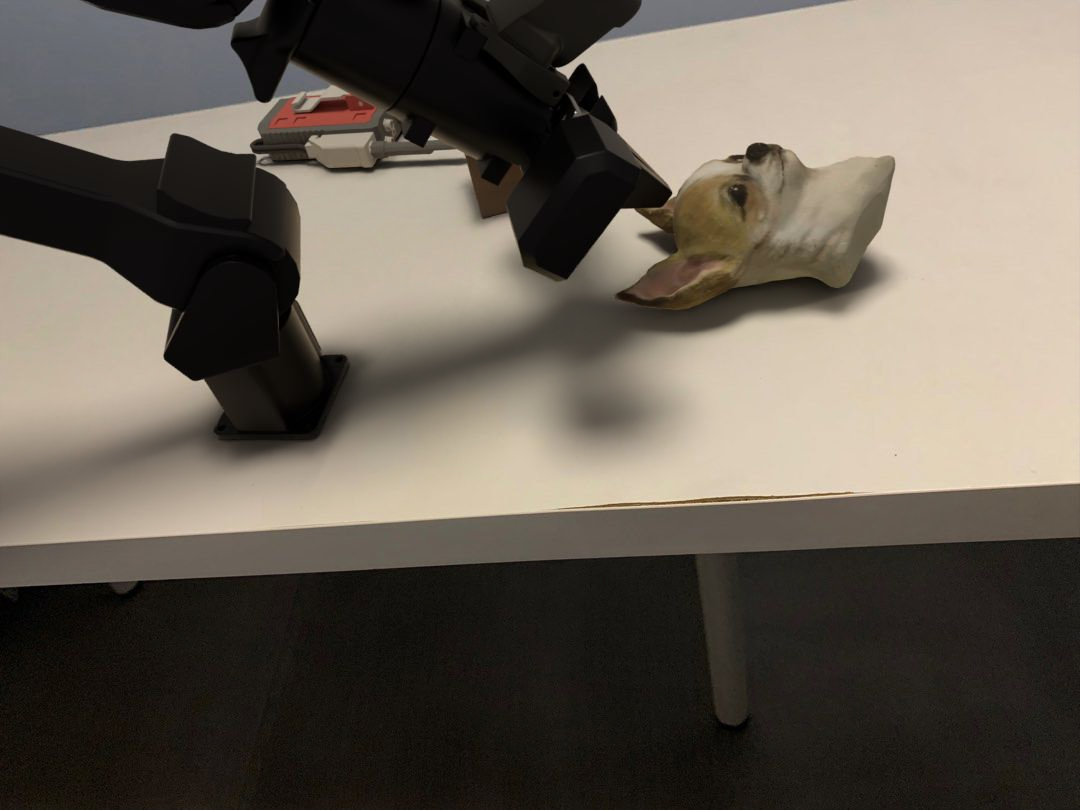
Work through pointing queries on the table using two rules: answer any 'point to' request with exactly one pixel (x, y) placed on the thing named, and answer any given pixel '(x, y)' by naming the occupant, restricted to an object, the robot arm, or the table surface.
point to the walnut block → (492, 189)
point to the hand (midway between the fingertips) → (665, 197)
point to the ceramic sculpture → (764, 225)
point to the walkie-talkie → (333, 131)
